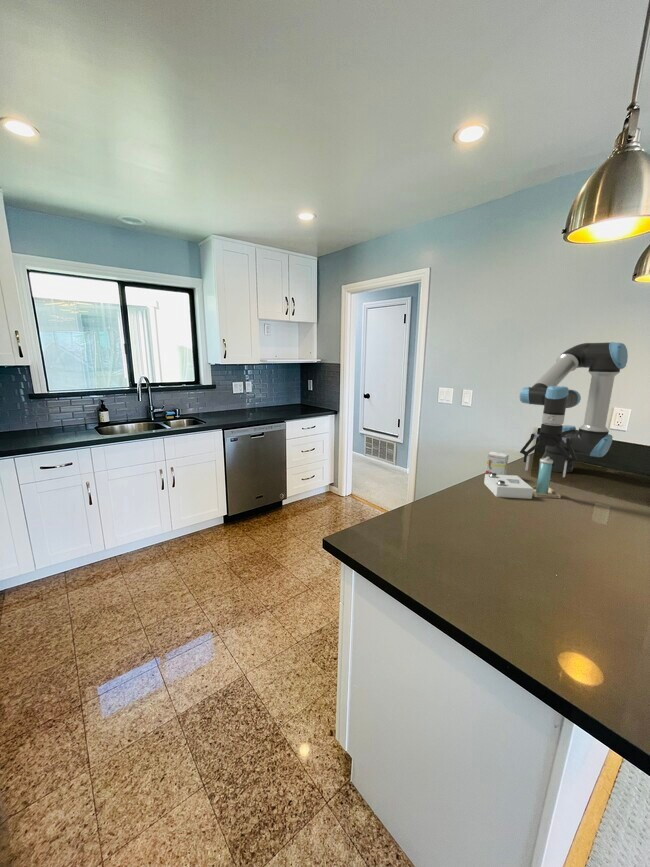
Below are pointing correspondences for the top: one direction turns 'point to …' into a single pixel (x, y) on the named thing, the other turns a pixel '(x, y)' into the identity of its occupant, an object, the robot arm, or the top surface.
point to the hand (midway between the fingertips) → (544, 473)
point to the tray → (550, 494)
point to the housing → (509, 486)
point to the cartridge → (544, 475)
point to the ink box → (497, 463)
